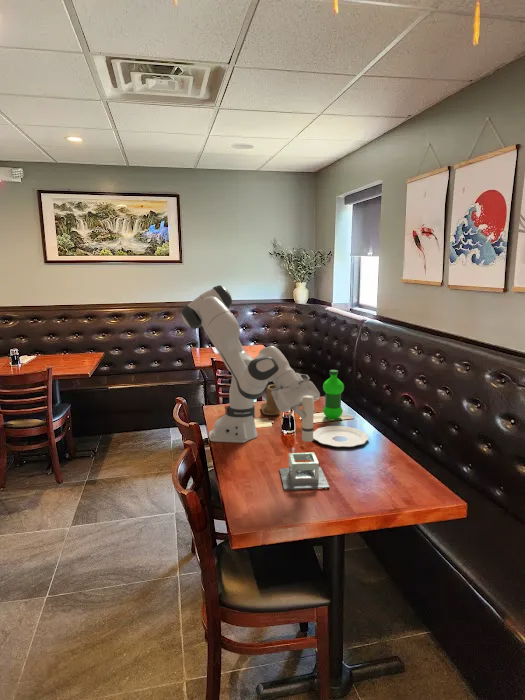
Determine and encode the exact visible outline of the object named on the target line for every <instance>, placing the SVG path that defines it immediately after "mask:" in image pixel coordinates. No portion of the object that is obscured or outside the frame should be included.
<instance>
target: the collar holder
mask: <svg viewBox="0 0 525 700" xmlns="http://www.w3.org/2000/svg"><path fill="white" fill-rule="evenodd" d="M296 461H298V462H296ZM299 461H300V462H299ZM301 461H302V462H301ZM304 461H305V462H304ZM279 470H280V471H279V475H280V474H281V475H280V478H281V482H282V483H283V484H282V488H283V491H284V490H293V491H301V490H300V489H318V488H330V484H329V482H328V480H327V478H326V475H325V473H324V471H323V469H322V467H321V466H320V464H319V460H318V458H317V456H316V454H315V452H311V451H310V452H289V453H288V467H284V468H282V467H281V468H279Z"/></svg>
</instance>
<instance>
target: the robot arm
mask: <svg viewBox="0 0 525 700" xmlns="http://www.w3.org/2000/svg"><path fill="white" fill-rule="evenodd" d="M232 298H233V297H232V295H231V292H230V291H229V290H228V289H227V288H226V287H225V286H223V285H221V284H219V285H215V286H214V287H212V288H211V289H209V290H207V291H205V292H203V293H201V294H200V295H199V296H198V297H196V298H195V299H193V300H192V301H191V302H190V303H188V304H185V306H183V308H181V312H180V314H181V318H182V321H183V322H184V324H185V325H186V326H187V327H189V328H190V329H193V330H196V329H199V328H201V327H202V328H203V330H204V332H205V333H206V335H207V337H208V338H209V340H210V342H211V343H212V345H213V346H214V348H215V349H216V351H217V353H218V354H219V356H220V359H221V360H222V362H223V363H224V365H225V367H226V368H227V370H228V371H229V372H230V373H231V380H230V381H231V382H230V387H229V390H228V394H229V395H228V396H229V404H224V406H223V407H224V410H225V412H224V414H223V415H222V416H220V417H219V418H218V419H217V420H215V423H214V425H213V429H211V430H210V431H209V433H208V439H209V441H211V442H215V443H217V442H218V443H239V444H242V443H247V442H248V441H251V440H253V439H256V438H257V437H258V430H257V427H256V421H255V417H256V408H255V404H254V402H255V401H254V400H257V399H260V398H262V396H263V395H264V392H265V389H266V388H267V387H268V385H269V383H271V382H273V385H275V386H276V387H277V388H273V389H272V391H271V394H272V396H273V398H274V401H275V403H276V405H277V407H278V409H279V410H280V413H285V412H288V411H291V410H293V412H294V413H295V414H297V415H299V418H300V419H302V418H304V417H305V416H306V413H305V412H304V411H302V409H301V408H300V407H302V397H303V396H307V395H309V396H313V397H314V403H315V402H317V401H318V400H319V398H320V397H321V393H320V391H319V390H318V388H317V387H316V385H315V384H314V383H313V381H311V380H310V379H311V378H310V376H309V375H308V374H303V373H299V372H296V371H295V370H294V369H293V368H292V367H291V366H290V363H289V361H288V360H287V357H286V356H285V354H283V353H282V351H281V350H280V349H279V348H278V347H276V346H275V345H270V346H269V345H268V346H266V347H264V348H262V349H261V350H260V351H259V352H258V354H257V355H256V357H254V358H253V357H252V356H251V355H249V354H248V353H247V352H246V350H245V349H244V347H243V344H242V343H241V341H240V329H241V328H240V325H239V322H238V320H237V318H236V317H235V315H234V314H233V312H231V310H230V309H229V308H231V306H232V304H233V299H232ZM316 412H317V410H316V409H315V407H314V408H313V415H315V414H316Z"/></svg>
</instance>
